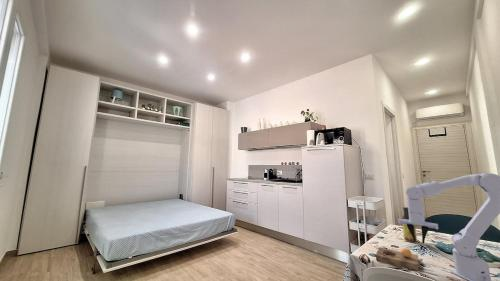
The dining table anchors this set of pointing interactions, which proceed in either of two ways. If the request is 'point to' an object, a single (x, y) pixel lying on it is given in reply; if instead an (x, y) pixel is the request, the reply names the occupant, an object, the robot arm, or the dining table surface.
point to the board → (397, 258)
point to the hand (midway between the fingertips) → (419, 242)
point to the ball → (406, 252)
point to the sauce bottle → (405, 229)
